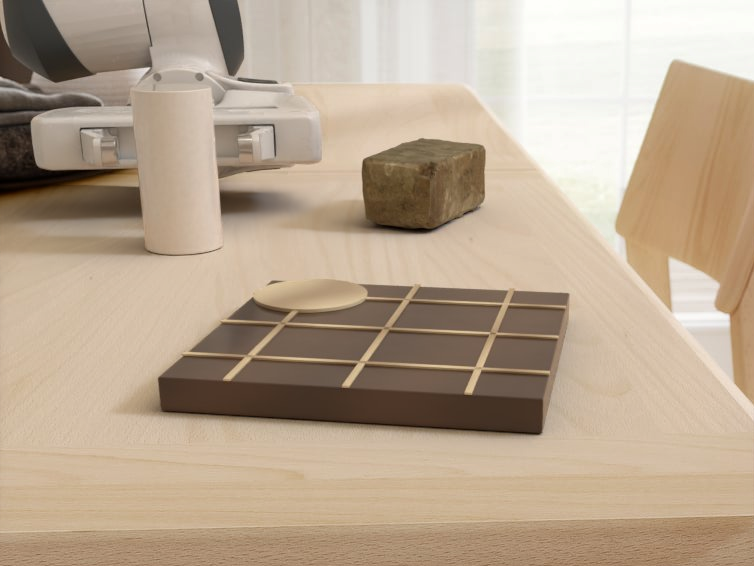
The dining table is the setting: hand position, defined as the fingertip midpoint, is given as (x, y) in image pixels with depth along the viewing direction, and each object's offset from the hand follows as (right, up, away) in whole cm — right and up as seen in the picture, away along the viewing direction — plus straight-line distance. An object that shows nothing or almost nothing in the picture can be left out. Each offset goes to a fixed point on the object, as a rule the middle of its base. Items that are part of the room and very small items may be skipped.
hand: (177, 152), depth 78 cm
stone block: (+17, -3, +8) cm, 18 cm away
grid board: (+15, -16, -23) cm, 32 cm away
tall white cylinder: (+1, -6, -1) cm, 7 cm away
